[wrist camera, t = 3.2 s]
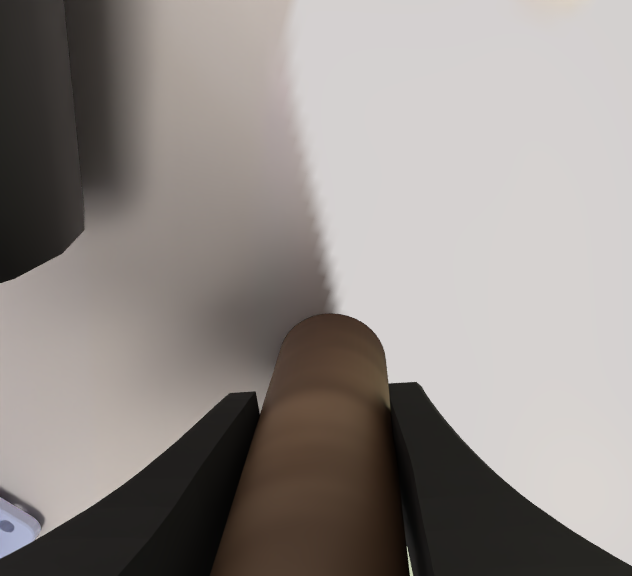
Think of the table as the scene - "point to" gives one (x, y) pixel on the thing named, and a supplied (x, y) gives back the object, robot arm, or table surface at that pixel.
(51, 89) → the security camera
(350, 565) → the walnut peg
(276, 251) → the table surface
